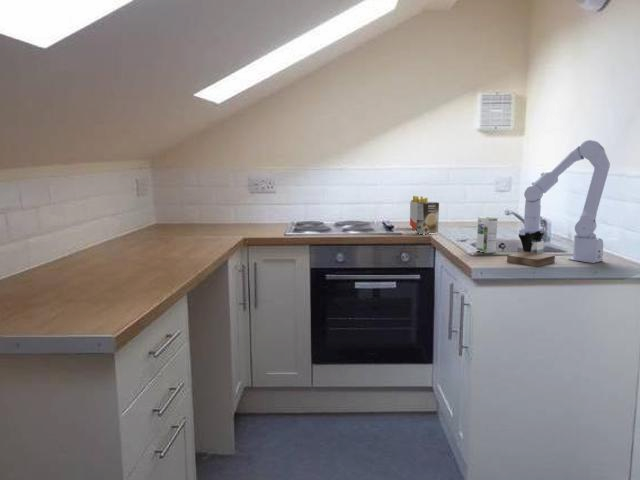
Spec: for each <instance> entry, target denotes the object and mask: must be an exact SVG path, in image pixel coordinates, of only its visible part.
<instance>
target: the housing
mask: <svg viewBox="0 0 640 480" xmlns="http://www.w3.org/2000/svg"><path fill="white" fill-rule="evenodd" d="M544 246H545V241H544V240H541V241H540V240H532V243H531V249H530V252H533V253H540V254H544ZM519 252H524V250H523V246H522V242H521V240H520V239H518V240H517V253H519Z"/></svg>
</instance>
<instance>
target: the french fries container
mask: <svg viewBox="0 0 640 480" xmlns="http://www.w3.org/2000/svg"><path fill="white" fill-rule="evenodd" d="M428 200H429V198H428V197H423V196H420V198H419V196H418V195H413V196H412V199H411V201H410V202H409V204H410V205H409V207H410V208H409V211H410V212H409V226H410V227H411V228H412V230H414V229H417V203H419V202H429V201H428Z"/></svg>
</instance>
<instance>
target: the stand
mask: <svg viewBox="0 0 640 480" xmlns="http://www.w3.org/2000/svg"><path fill="white" fill-rule="evenodd" d="M506 257H507V258H506V262H508V263H512V264H513V263H514V264H518V265H525V266H531V267H540V266H542V267H543V266H545V265H549V264H553V263H555V261H556V260H555V259H556V255H554V254H553V255H552V254H547V253H543V254H540V253H533V252H526V251H524V252H519V253H518V252H516V253H510V254H507V256H506Z"/></svg>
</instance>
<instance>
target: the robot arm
mask: <svg viewBox="0 0 640 480" xmlns="http://www.w3.org/2000/svg"><path fill="white" fill-rule="evenodd" d="M581 160H588V161H589V163H590V164H591V165H592V166H593V173H592V177H591V180H590V184H589V187H588V192H587V195H586V198H585V203H584V206H583V209H582V212H581V214H580V218H579V219H578V221H577V222H576V223H575V225H574V232H575V233H574V237H573V254H572V257H568V258H567V259H568V260H571V261H576V262H585V263H592V264H595V263H599V262H602V261H603V260H604V258H603V252H604V240H603V239H602V238H599V237H597V235H596V233H594V232H595V231H596V229H597V223H596V222H597V221H596V219H597V214H598V210H599V206H600V202H601V200H602V195H603V191H604V189H605V185H606V181H607V177H608V173H609V171H610V167H611V164H610V161H609V158H608V156H607V153H606V150H605V148H604V147H603V146H602V145H601V143H600V142H599V141H596V140H592V139H589V140H585V141H584V142H582V143H581V144H580V145H578V146H577V147H576V148H574V149H573V150H571V151H570V152H569V154H567V155H566V156H565V157H564V158H563V159H562V160H561V161H560V162H559V163H558V164H557V165H556V166H555V167H554V168H553V169H552V170H546V171H545V172H544V171H543V172H541V174H540V177H539V178H537V180H535V181H533V182H532V183H531V185H530V186H528V187H527V188H526V189H525V191H524V194H523V195H524V198H525V205H524V214H523V215H524V217H523V218H524V220H523V221H524V222H523V226H522V227H521V229H519V230H518V231H519V232H518V238H519V240H521V242H522V246H523V250H524V251H526V252H530V249H531V243H532V240H540V241H542V239H543V237H544V236H545V235H544V234H545V233H544V226H540V225H541V207H542V206H541V200H542V198H543V196H544V194H546V193H547V192H548V191H549V190H551V189H552V187H554V186H555V185H556V184H557V183H558V182H559V177H560V175H562V174H563V173H564V172H565V171H566V170H567V169H568V168H570V167H571V166H573V164H575V163H576V162H579V161H581Z"/></svg>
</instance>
